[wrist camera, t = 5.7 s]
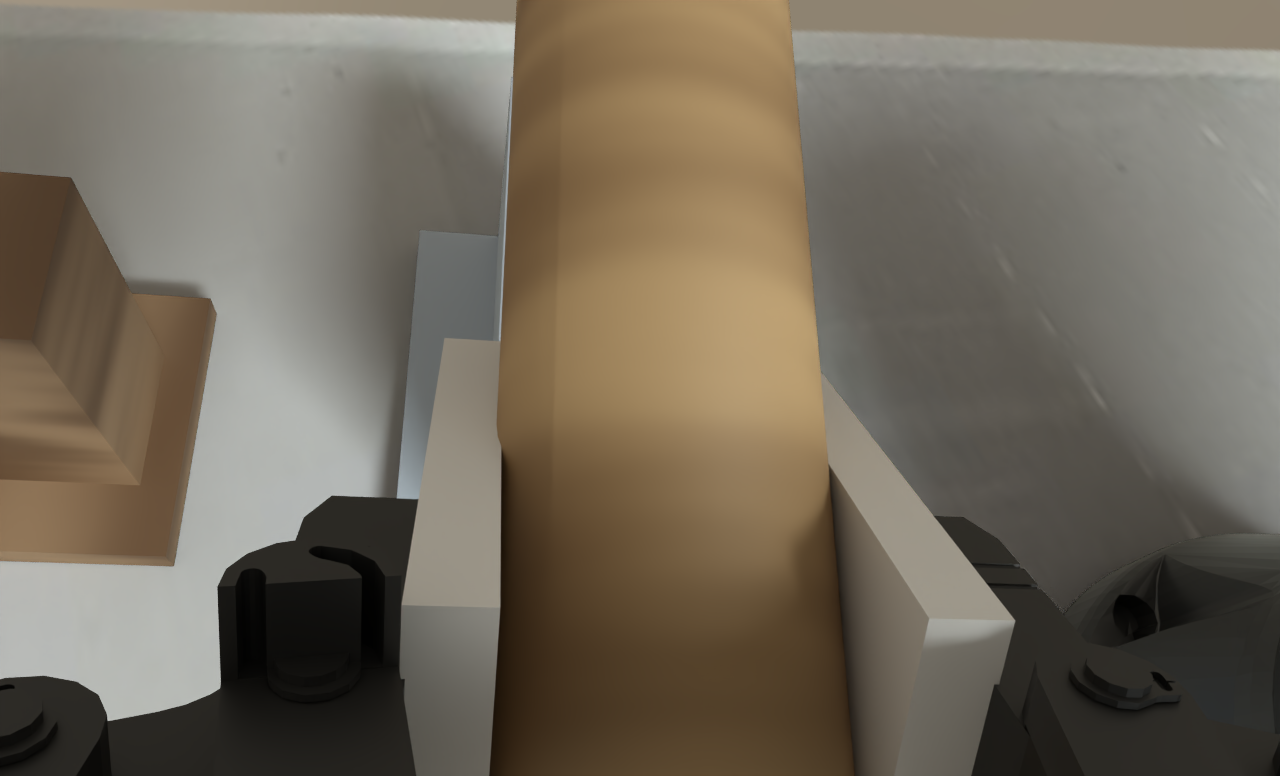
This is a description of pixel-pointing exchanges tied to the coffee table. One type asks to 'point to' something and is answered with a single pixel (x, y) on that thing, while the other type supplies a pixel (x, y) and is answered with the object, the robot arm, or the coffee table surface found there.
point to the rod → (662, 405)
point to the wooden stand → (90, 390)
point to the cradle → (448, 319)
